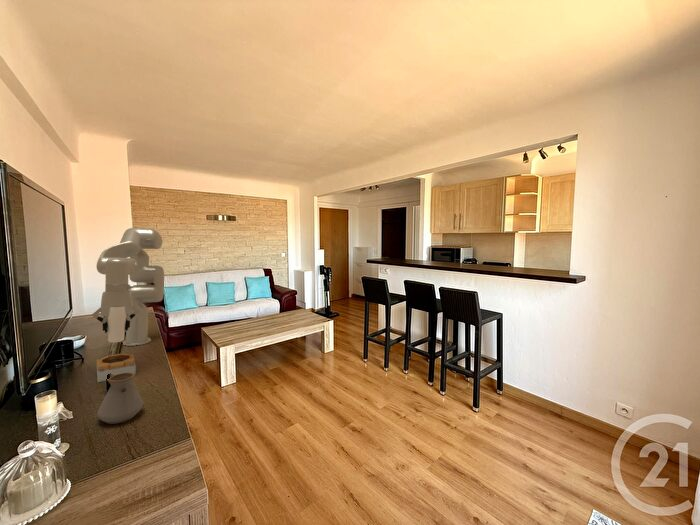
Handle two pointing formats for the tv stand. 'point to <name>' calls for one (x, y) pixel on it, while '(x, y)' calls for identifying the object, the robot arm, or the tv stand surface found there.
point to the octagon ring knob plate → (115, 365)
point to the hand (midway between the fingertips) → (116, 330)
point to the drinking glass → (116, 324)
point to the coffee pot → (120, 400)
